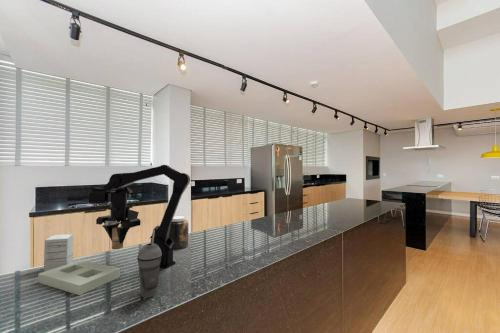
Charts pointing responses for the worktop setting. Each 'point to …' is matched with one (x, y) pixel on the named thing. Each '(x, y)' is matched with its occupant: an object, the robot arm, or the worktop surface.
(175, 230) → the jar
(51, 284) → the board
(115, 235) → the peg
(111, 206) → the robot arm
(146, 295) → the beverage cup
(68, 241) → the supplement box
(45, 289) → the worktop surface
